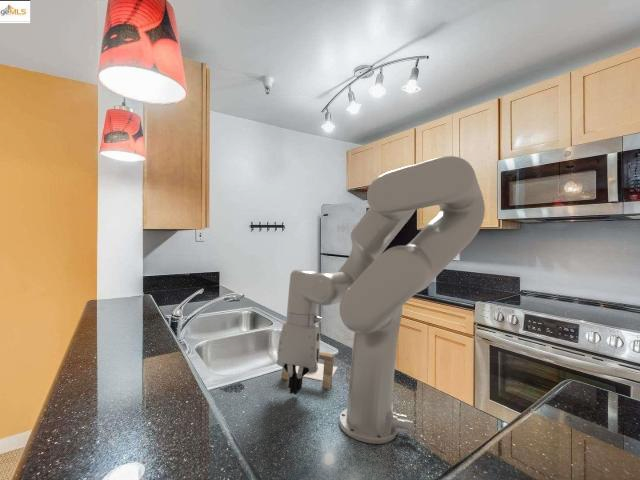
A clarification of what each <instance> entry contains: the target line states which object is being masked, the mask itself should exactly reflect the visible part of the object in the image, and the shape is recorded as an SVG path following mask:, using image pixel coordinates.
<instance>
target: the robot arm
mask: <svg viewBox="0 0 640 480" xmlns="http://www.w3.org/2000/svg"><path fill="white" fill-rule="evenodd" d="M484 200H485V199H484V197H483V193H482V190H481V188H480V185H479V181H478V178H477V175H476V171H475V169H474V168H473V166H472V164H471V163H470V162H468V161H467V160H466V159H465V158H462V157H459V156H453V155H448V156H439V157H437V158H433V159H428V160H425V161H422V162H419V163H416V164H415V163H414V164H411V165H407V166H404V167H401V168H397V169H394V170H390V171H387V172H385V173H383V174H381V175H379V176H377V177H376V178H375V179H374V180H372V182H371V183H370V184H369V186H368V188H367V192H366V202H367V204H368V206H369V208H368V209H367V210H366V211H365V212H364V214H363V216H362V217H361V218H360V219H359V221H358V222H357V223H356V225H354V227H353V228H352V230H351V232H350V239H351V245H352V246H351V247H352V248H351V251H350V254H349V256H348V258H347V259H346V260H345V262H344V263H343V264H342V266H341V267H340V268H339V270H338V271H337V272H336V271H335V272H324V273H320V272H318V271H315V270H310V269H294V270H292V271H291V272H290V277H289V285H288V286H289V287H288V298H287V308H286V317H285V318H286V319H285V321H284V322H283V324H282V326H281V327H282V328H281V331H280V335H279V340H278V347H277V352H276V353H277V354H276V355H277V357H276V359H277V361H276V365H278V366H279V367H281V368H283V367H284V368H285V370H286V371H287V373H288V376H289V380H288V389H289V394H291V395H292V394H293V395H297V394H298V393H299V391H301V390H302V388H303V379H304V377H303V376H304V375H305V374H307V373H313V372H316V371H317V370H318V365H317V363H319V360H320V359H319V355H320V351H321V350H320V348H321V344H320V343H321V341H320V340H321V339H320V338H321V336H320V326H319V325H318V323H322V322H323V321H322V320H323V319H322V316H318V305H320V306H324V307H325V306H332V305H336V304H339V316H340V319H341V322H342V323H343V324H344V325H345V327H346V328H347V329H348V330H350V331H352V332H353V333H354V336H353V338H352V339H353V340H352V341H353V342H352V349H351V350H352V351H351V361H350V374H349V382H348V383H349V385H348V395H347V407H346V409H344V410H342V411H341V412H340V414H339V418H338V423H339V427H340V428H341V430H342V432H343V433H345V434H346V435H347V436H349V437H350V438H352V439H355V440H356V441H359V442H362V443H366V444H372V445H373V444H375V445H377V444H379V445H381V444H382V445H383V444H385V443H386V444H387V443H389V442H391V441H393V440H394V439H396V437H397V434H398V428H399V429H401V430H405V431H408V432H413V426H414V421H413V420H409V419H408V418H407V417H408V416H407V414H402V413H397V412H396V411H394V404H393V395H394V381H395V372H396V371H395V370H396V358H397V347H398V340H399V332H400V327H401V321H402V315H403V306H405V304H406V303H408V301H410V299H411V298H413V296H415V295H416V294H417V293H421V292H422V291H424V290H425V289H427V288H428V287H429V286H430V285H431V283H432V282H433V281H434V280H435V279H436V278H437V277H438V275H439V274H440V273H442V271H444V269H445V268H447V267H448V266H449V265H450V263H452V262H453V260H455V258H457V256H459V254H461V252H462V251H463V250H464V249H465V248H466V247H467V246H468V245H469V244H470V243H471V242H472V241H473V239H475V237H476V236H477V234H478V233H479V231H480V229H481V227H482V225H483V222H484V219H485V212H486V207H485V201H484ZM433 206H439V211H438V213H437V214H436V216H435V217H434V218H432V219H431V221H429V222H428V223H427V224H426V225H425V226H424V227H423V228H422V229H420V231H419V232H418V233H417V234H416V235H415V237H414V238H413V239H411V241H410V242H408V243H407V244H405V245H395V246H392V247H390V248H388V249H387V247H388V246H390V243H392V241H393V240H394V239H395V237H396V236H397V235H398V233H399V232H400V231H401V230H402V228H403V227H404V226H405V224H407V223H408V221H409V220H410V219H411V217H412V216H413V215H414V213H415V212H416V211H417V210H418V209H419V210H420V209H423V208H429V207H433ZM297 366H299V369H298V373H296V367H297ZM395 436H396V437H395Z"/></svg>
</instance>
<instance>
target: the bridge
mask: <svg viewBox="0 0 640 480" xmlns="http://www.w3.org/2000/svg"><path fill="white" fill-rule="evenodd" d="M334 359H335V353H332V352H327V351H322V350H320V355H319V360H321V361H322V360H323V361H324V362H323V364H324V371H323V381H321V382H322V384H321V388H323V389H328V390H330V388H331V387H332V384H333V383H332V382H333V377H332V374H333V366H334V361H335V360H334ZM281 368H282V369H281V370H282V371H281V380H285V381H289V376H288V373H287V371H286V370H285V368H284V367H281Z"/></svg>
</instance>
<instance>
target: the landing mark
mask: <svg viewBox="0 0 640 480" xmlns="http://www.w3.org/2000/svg"><path fill="white" fill-rule="evenodd" d="M317 365H318V370H317V371H316V372H313V373H307V374H305V375H304V376H303V378H305V379H311V380H316V381H320V382H323V371H324V363H321V362H317ZM338 367H339V366H336V365H335V366H334V365H333V374H332V378H333V376H334V375H335V373H336V372H337V370H338ZM298 369H299V366H296V373H298Z"/></svg>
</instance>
